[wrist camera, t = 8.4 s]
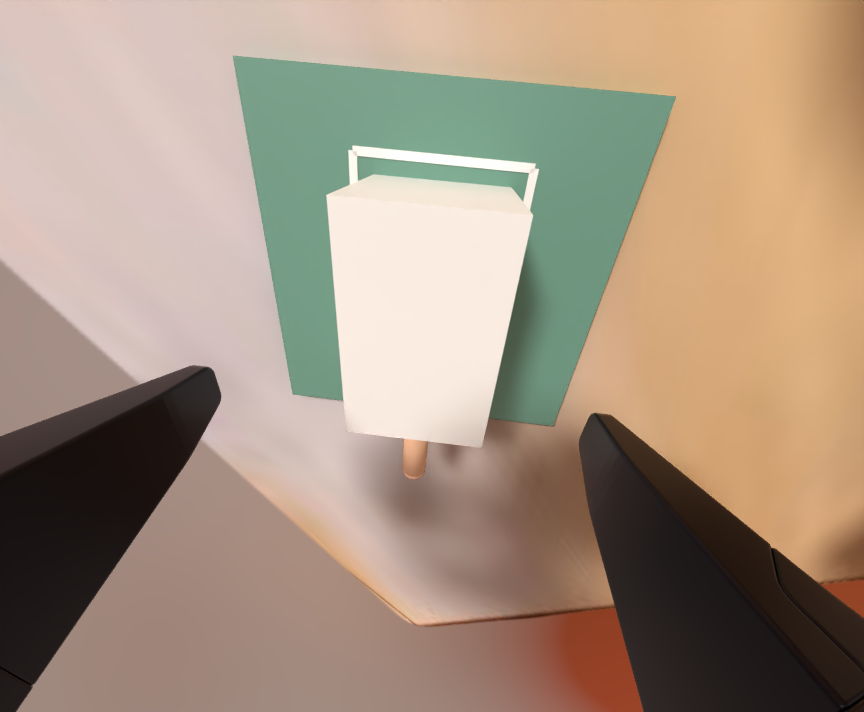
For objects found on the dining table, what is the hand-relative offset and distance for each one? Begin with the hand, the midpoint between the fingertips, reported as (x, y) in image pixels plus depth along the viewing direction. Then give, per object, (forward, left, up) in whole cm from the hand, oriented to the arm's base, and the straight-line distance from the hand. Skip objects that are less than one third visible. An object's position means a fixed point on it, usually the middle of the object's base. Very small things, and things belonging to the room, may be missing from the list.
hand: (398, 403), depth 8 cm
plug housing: (0, +2, -8) cm, 8 cm away
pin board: (0, 0, -8) cm, 8 cm away
